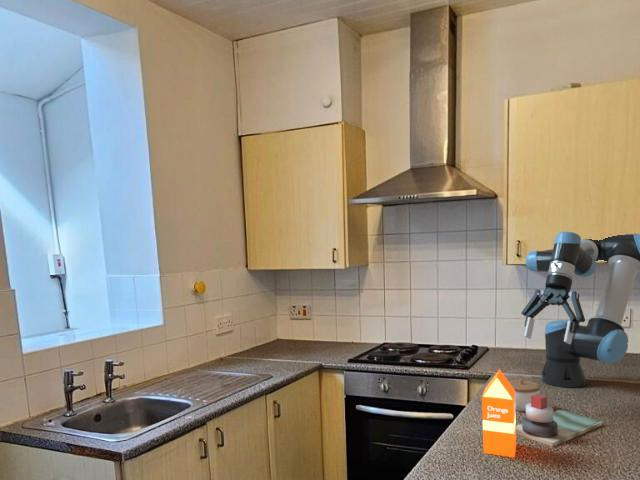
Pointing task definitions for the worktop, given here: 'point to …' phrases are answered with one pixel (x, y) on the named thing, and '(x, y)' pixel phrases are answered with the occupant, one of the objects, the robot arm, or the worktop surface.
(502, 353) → the worktop surface
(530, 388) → the lidded jar
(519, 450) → the worktop surface
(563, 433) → the game board
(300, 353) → the worktop surface
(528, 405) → the dome
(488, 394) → the orange juice
